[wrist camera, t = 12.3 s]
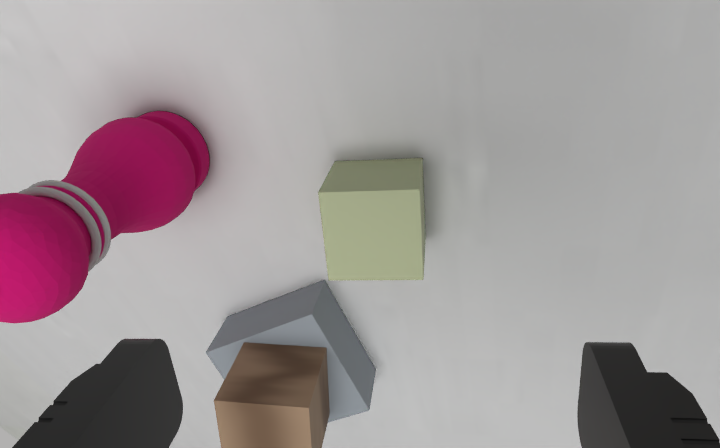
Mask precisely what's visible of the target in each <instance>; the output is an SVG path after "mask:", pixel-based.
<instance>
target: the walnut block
mask: <svg viewBox="0 0 720 448" xmlns="http://www.w3.org/2000/svg"><path fill="white" fill-rule="evenodd" d="M214 404H215V410H216V417H217V423H218V429H219V436H220V442H221V448H321V447H322V443H323V439H324V435H325V431H326V427H327V423H328V418H329V414H330V408H329V388H328V368H327V348H325V347H309V346H294V345H279V344H263V343H248V342H244V343H243V345H242V347H241V349H240V351H239V353H238V355H237V357H236V359H235V361H234V363H233V365H232V366H231V368H230V370H229V372H228V374H227V376H226V378H225V380H224V382H223V384H222V386H221V388H220V390H219V392H218V394H217V396H216V398H215V399H214Z"/></svg>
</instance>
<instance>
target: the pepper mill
mask: <svg viewBox="0 0 720 448" xmlns="http://www.w3.org/2000/svg"><path fill="white" fill-rule="evenodd" d="M208 170H209V152H208V149H207V145H206V143H205V141H204V139H203V137H202V135H201V134H200V133H199V131H198V130H197V129H196V128H195V127H194V126H193V125H192V124H191V123H190V122H189V121H188V120H186V119H184V118H183V117H181V116H178V115H176V114H174V113H170V112H166V111H154V112H149V113H146V114H143V115H141V116H139V117H137V118H122V119H117V120H114V121H111V122H109V123H107V124H105V125H104V126H103V127H101V128H100V129H98V130H97V131H95V132H94V133H92V134H91V135H90V136H89V137H88V138H87V139H86V141H85V142H84V143H83V145H82V146H81V147H80V149H79V150H78V152H77V154H76V156H75V159H74V161H73V163H72V166H71V168H70V170H69V172H68V174H67V176H66V177H65V178H64V179H63V180H62V181H54V180H48V181H42V182H38V183H36V184H33V185H32V186H30V187H29V188H28V189H24V190H22V191H20V192H19V193H8V194H0V322H7V323H23V322H31V321H35V320H39V319H42V318H45V317H47V316H49V315H51V314H53V313H55V312H57V311H59V310H60V309H61V308H63V307H64V306H65V305H67V304H68V303H69V302H70V301H72V300H73V299H74V298H75V296H76V295H77V294H78V293H79V291H80V290H81V289H82V287H83V285H84V282H85V280H86V278H87V275H88V271H90V270H91V269H92V268H93V267H94V266H95V265H96V264H98V263H99V262H100V261H101V260H102V259H103V258H104V257H105V256H106V254H107V252H108V250H109V247H110V242H111V239H113V238H114V237H116V236H117V235H119V234H120V233H135V232H143V231H148V230H153V229H155V228H158V227H161V226H164V225H165V224H167V223H169V222H171V221H172V220H173V219H175V218H176V217H178V216H179V215H180V214H181V213H182V212H183V211H184V210H185V209H186V207H187V206H188V204H189V203H190V201H191V199H192V196H193V193H194V191H195V190H196V189H197V188H198V187H199V186H200V185H201V184H202V183H203V181H204V180H205V178H206V176H207V174H208Z"/></svg>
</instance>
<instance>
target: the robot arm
mask: <svg viewBox="0 0 720 448" xmlns="http://www.w3.org/2000/svg"><path fill="white" fill-rule="evenodd" d="M182 413H183V402H182V397H181V393H180V390H179V386H178V382H177V379H176V375H175V371H174V368H173V364H172V361H171V357H170V353H169V350H168V347H167V345H166V343H165V342H164V341H163V340H161V339H123V340H121V341H120V342H119V343H118V344H117V345H116V346H115V347H114V348H113V350H112V351H111V352H110V353H109V354H108V355H107V357H106V358H105V359H104V360H103V361H102V363H101V364H96V365H94V366H93V367H91V368H90V369H88V370H87V371H85V372H84V373H82V374H81V375H80V376H78V377H77V378H75V379H74V380H72V381H71V382H70V383H69V384H68V386H67V387H66V388H65V389H64V390H63V391H62V392H61V393H60V395H59V396H58V397H57V398H56V399H55V400H54V404H53V405H50V406H49V407H48V408H47V409H46V410H45V411H44V413H43V414H42V415H41V416H40V417H39V421H38V422H35V423H34V424H33V425H32V426H31V427H30V428H29V429H28V431H27V432H26V433H25V434H24V435H23V436H22V437H21V438H20V440H19V441H18V442H17V443H16V444H15V445H14V446H13V447H12V448H169V446H170V444H171V442H172V441H173V439H174V437H175V435H176V434H177V432H178V429H179V427H180V424H181V420H182ZM578 429H579V436H580V442H581V446H582V448H720V443H719V438H718V437H717V435H716V433H715V432H714V430H713V428H712V426H711V425H710V424H708V423H707V418H706V416H705V415H704V413H703V411H702V409H701V408H700V406H699V404H698V403H697V401H696V399H695V397H694V396H693V394H692V393H691V392H690V391H688V390H687V389H686V388H685V387H684V386H682V385H681V384H680V383H679V382H678V381H676V380H675V379H674V378H673V377H672V376H670V375H669V374H668V373H655V372H647V371H646V369H645V367H644V365H643V363H642V361H641V359H640V357H639V355H638V353H637V351H636V349H635V347H634V346H633V345H632V344H631V343H603V342H586V343H585V345H584V348H583V354H582V366H581V377H580V389H579V400H578Z"/></svg>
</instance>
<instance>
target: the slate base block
mask: <svg viewBox="0 0 720 448" xmlns="http://www.w3.org/2000/svg"><path fill="white" fill-rule="evenodd" d="M244 342H248V343H263V344H279V345H294V346H309V347H325V348H327V368H328V388H329V408H330V414H329V418H328V422H331V421H334V420H338V419H341V418H345V417H348V416H351V415H355V414H358V413H362V412H365V411H368V410H369V409H370V403H371V396H372V390H373V384H374V377H375V371H376V368H375V367H374V365H373V363H372V362H371V360H370V358H369V356H368V355H367V353H366V351H365V349H364V348H363V346H362V344H361V342H360V341H359V339H358V337H357V335H356V334H355V332H354V330H353V328H352V327H351V325H350V323H349V322H348V320H347V318H346V316H345V315H344V313H343V311H342V309H341V308H340V306H339V304H338V302H337V301H336V299H335V297H334V295H333V294H332V292H331V290H330V289H329V287H328V285H327V283H326V282H325V280H323V281H320V282H317V283H315V284H312V285H309V286H307V287H304V288H301V289H299V290H296V291H293V292H291V293H288V294H286V295H283V296H280V297H278V298H275V299H272V300H270V301H267V302H264V303H262V304H259V305H257V306H254V307H251V308H249V309H246V310H243V311H241V312H238V313H235V314H233V315H230V316H228V317H227V318H226V320H225V321H224V323H223V325H222V326H221V328H220V330H219V331H218V333H217V335H216V336H215V338H214V340H213V341H212V343H211V345H210V346H209V348H208V350H207V351H206V354H207V355H208V357H209V358H210V360H211V361H212V362H213V364H214V365H215V367H216V368H217V370H218V371H219V373H220V374H221V375H222V377H223V378H224V380H225V378H226V376H227V374H228V372H229V370H230V368H231V366H232V365H233V363H234V361H235V359H236V357H237V355H238V353H239V351H240V349H241V347H242V345H243V343H244Z"/></svg>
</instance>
